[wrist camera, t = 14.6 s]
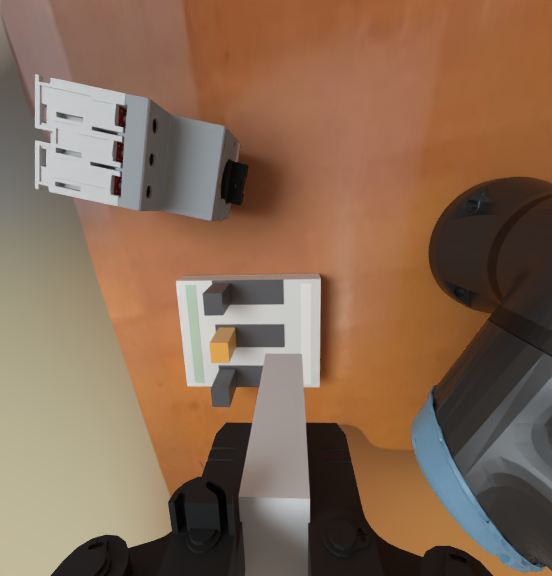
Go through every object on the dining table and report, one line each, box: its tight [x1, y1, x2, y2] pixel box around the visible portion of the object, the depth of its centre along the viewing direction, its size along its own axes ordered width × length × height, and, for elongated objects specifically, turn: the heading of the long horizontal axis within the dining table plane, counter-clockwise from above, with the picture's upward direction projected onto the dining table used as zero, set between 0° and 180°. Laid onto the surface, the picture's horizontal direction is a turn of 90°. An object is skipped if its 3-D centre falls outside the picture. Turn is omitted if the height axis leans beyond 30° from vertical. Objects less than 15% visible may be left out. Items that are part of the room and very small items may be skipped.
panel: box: [176, 274, 321, 387], centre depth 39 cm, size 17×14×3 cm
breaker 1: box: [203, 283, 231, 316], centre depth 34 cm, size 2×2×4 cm
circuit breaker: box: [35, 74, 248, 221], centre depth 29 cm, size 8×14×15 cm, turn 78°
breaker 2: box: [211, 368, 237, 407], centre depth 37 cm, size 2×2×4 cm
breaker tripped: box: [210, 327, 236, 363], centre depth 36 cm, size 2×2×4 cm
